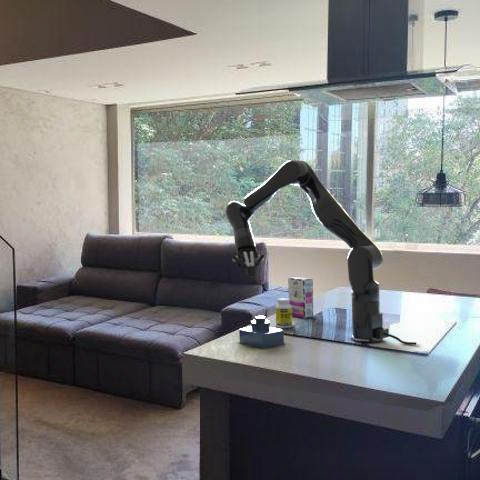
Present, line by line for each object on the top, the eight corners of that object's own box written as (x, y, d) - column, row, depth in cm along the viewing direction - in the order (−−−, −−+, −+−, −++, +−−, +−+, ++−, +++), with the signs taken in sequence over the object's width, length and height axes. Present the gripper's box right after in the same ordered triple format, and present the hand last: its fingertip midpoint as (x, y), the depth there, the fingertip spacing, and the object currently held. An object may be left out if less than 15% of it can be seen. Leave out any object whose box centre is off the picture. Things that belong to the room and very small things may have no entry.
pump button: (267, 322, 212) (267, 317, 212) (260, 324, 210) (259, 318, 210) (260, 321, 215) (260, 315, 215) (253, 322, 213) (253, 317, 213)
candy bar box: (314, 317, 250) (313, 278, 248) (304, 318, 248) (303, 279, 246) (297, 313, 260) (296, 276, 259) (288, 314, 258) (287, 277, 257)
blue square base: (285, 343, 207) (285, 323, 207) (262, 349, 201) (262, 328, 201) (261, 337, 217) (260, 319, 217) (239, 342, 212) (238, 323, 211)
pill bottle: (280, 329, 231) (279, 300, 230) (273, 326, 237) (272, 298, 236) (295, 327, 232) (294, 299, 232) (287, 324, 238) (286, 297, 238)
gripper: (229, 236, 232) (235, 270, 220) (262, 234, 232) (270, 269, 221) (227, 248, 237) (233, 283, 226) (259, 247, 238) (267, 281, 227)
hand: (252, 276), depth 224 cm, fingers closed
